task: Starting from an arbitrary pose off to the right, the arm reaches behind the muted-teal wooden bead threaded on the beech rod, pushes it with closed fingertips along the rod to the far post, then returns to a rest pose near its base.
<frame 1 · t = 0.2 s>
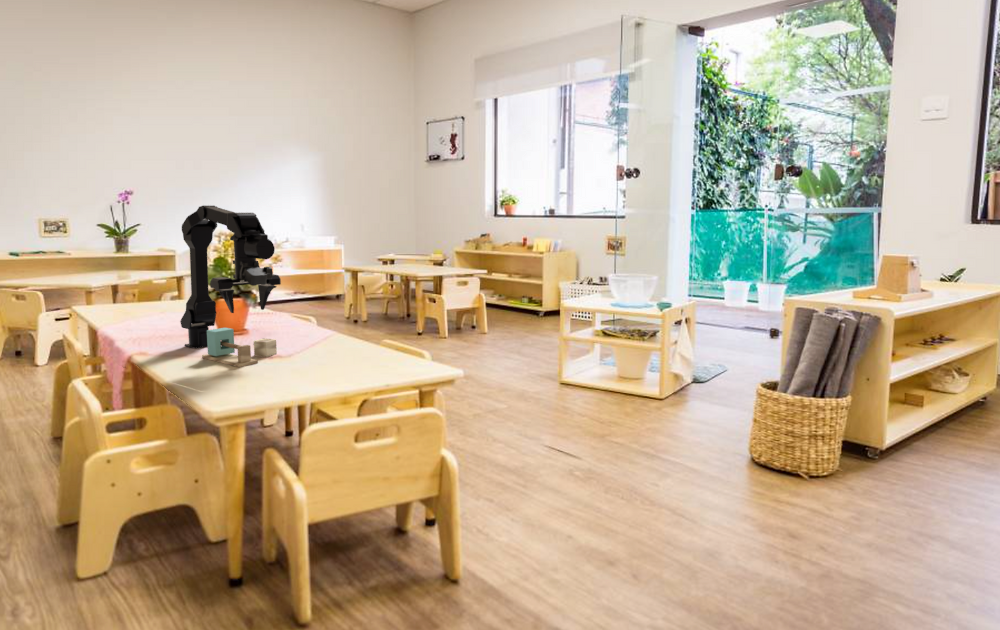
hand: (247, 311, 200), 14 cm above the table, fingers open, 9 cm apart
bead: (220, 341, 202), point 5 cm above the table, slide at -4.0 cm
maple cube: (265, 355, 208), on the table
rail: (229, 360, 200), on the table
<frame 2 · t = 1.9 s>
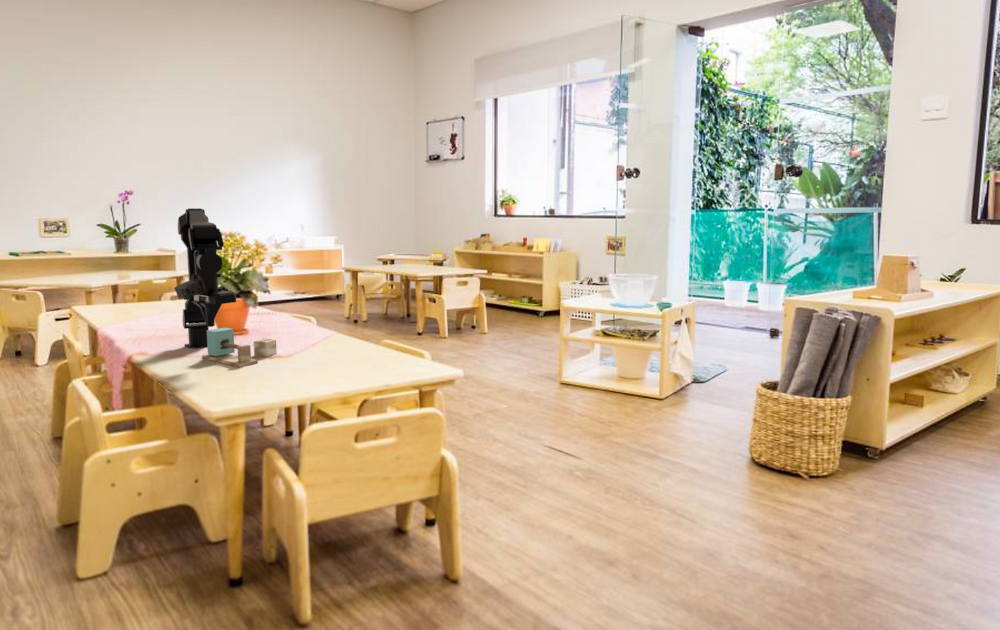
hand: (209, 325, 195), 11 cm above the table, fingers closed
nothing on the table moved.
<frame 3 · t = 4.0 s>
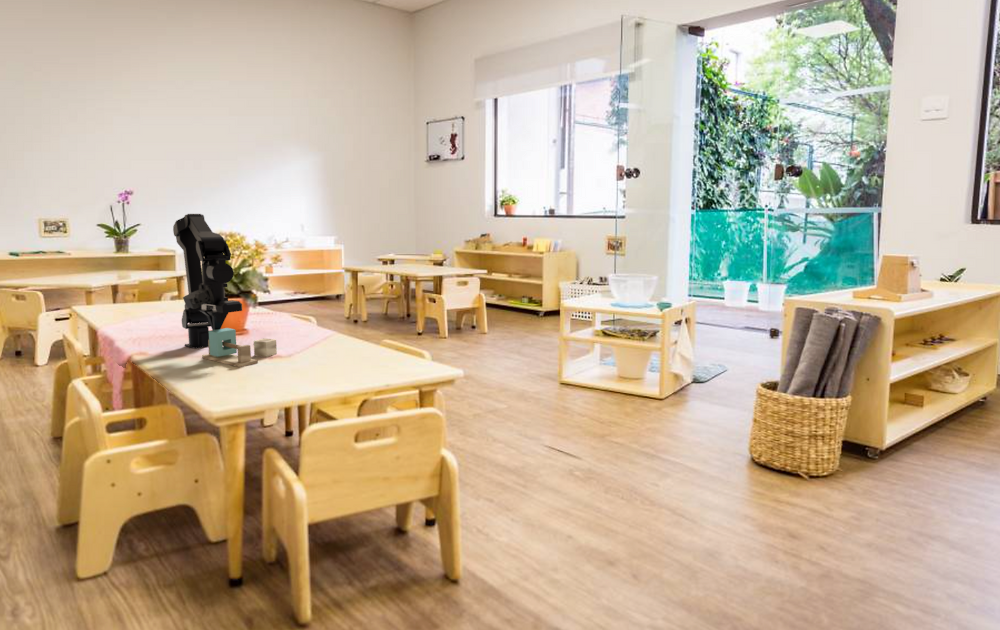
hand: (216, 333, 202), 7 cm above the table, fingers closed
bead: (222, 342, 201), point 5 cm above the table, slide at -3.0 cm, touching gripper
everything else where it was.
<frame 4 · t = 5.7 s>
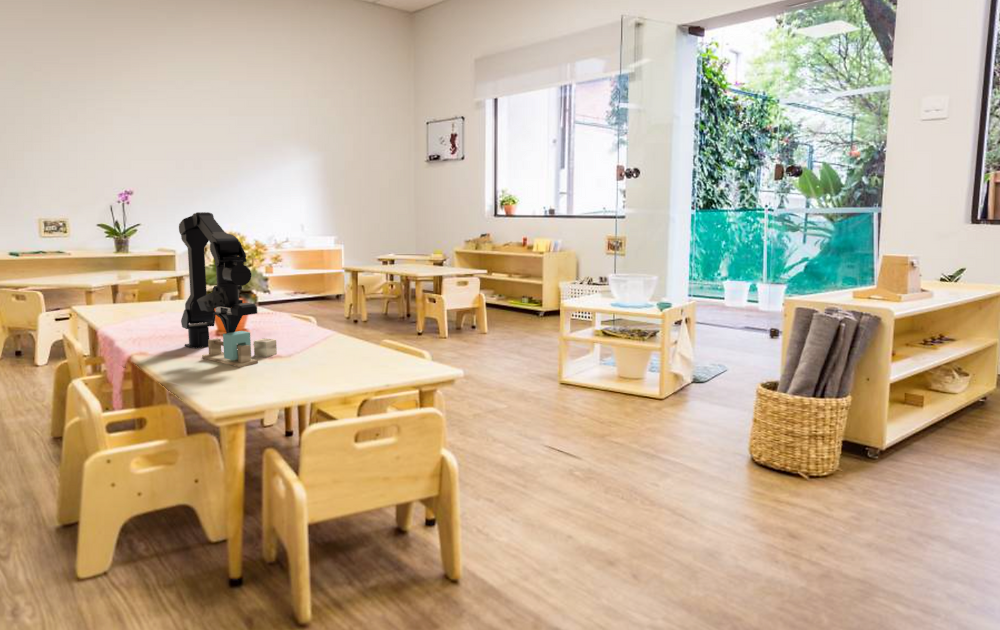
hand: (230, 336, 198), 7 cm above the table, fingers closed
bead: (237, 345, 197), point 5 cm above the table, slide at 4.0 cm, touching gripper
everything else where it was.
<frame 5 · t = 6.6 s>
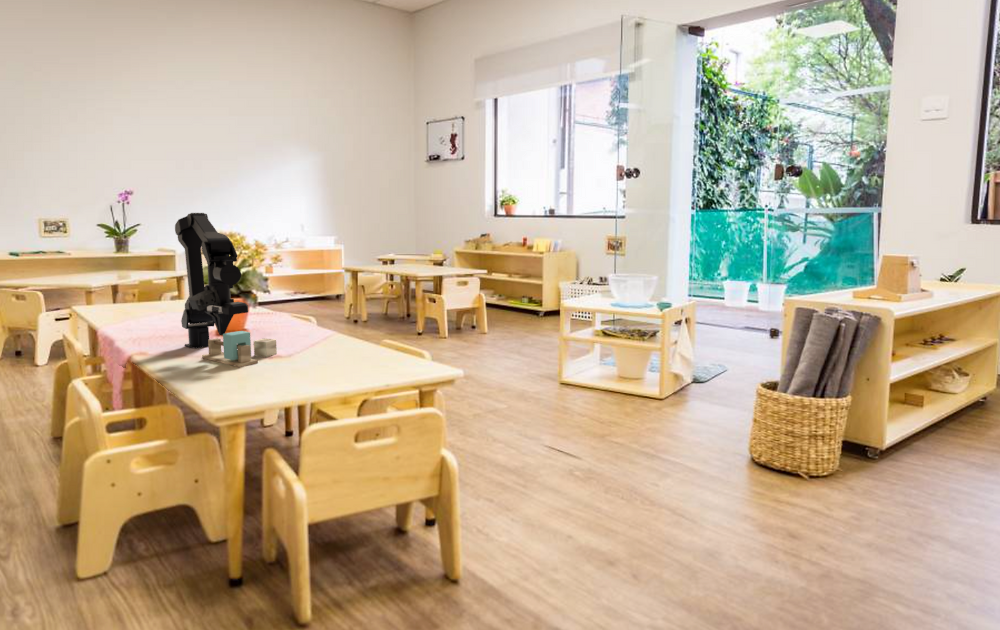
hand: (221, 335, 201), 7 cm above the table, fingers closed
bead: (237, 345, 197), point 5 cm above the table, slide at 4.0 cm
everything else where it was.
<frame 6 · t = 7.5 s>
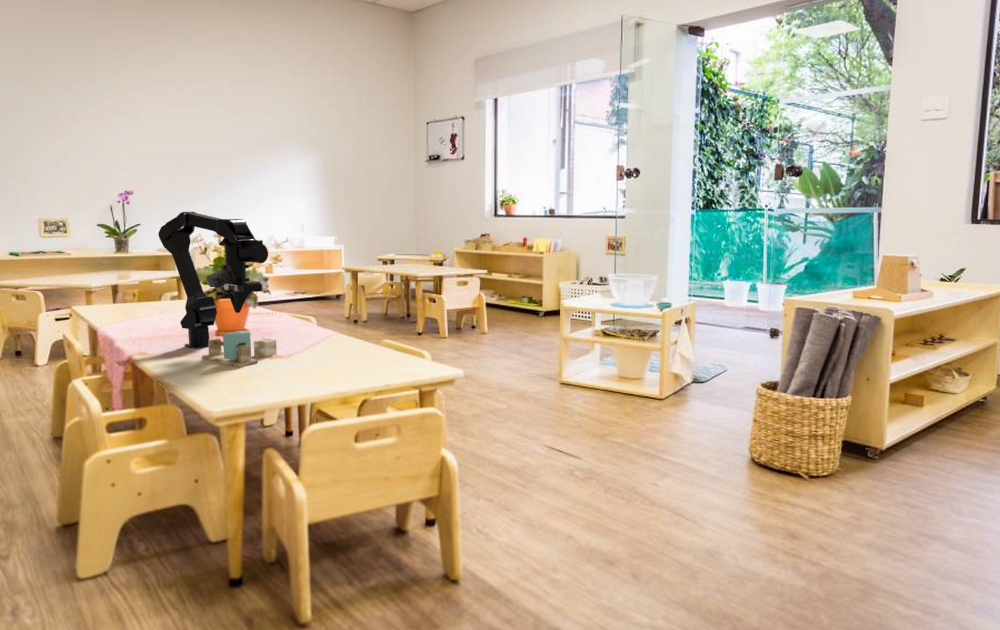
hand: (237, 312, 211), 12 cm above the table, fingers closed
nothing on the table moved.
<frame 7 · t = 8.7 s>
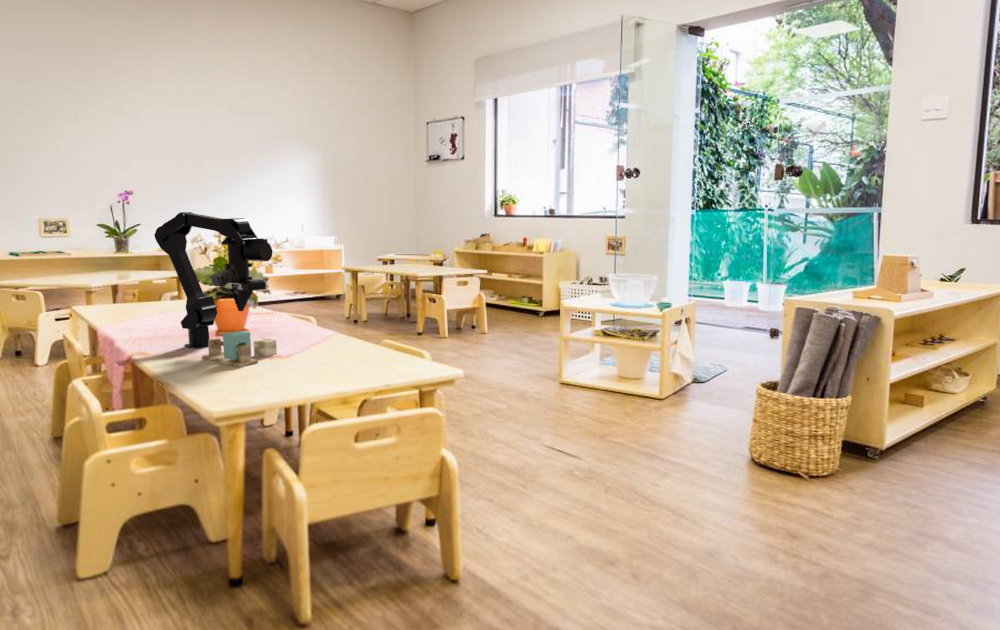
hand: (240, 311, 213), 12 cm above the table, fingers closed
nothing on the table moved.
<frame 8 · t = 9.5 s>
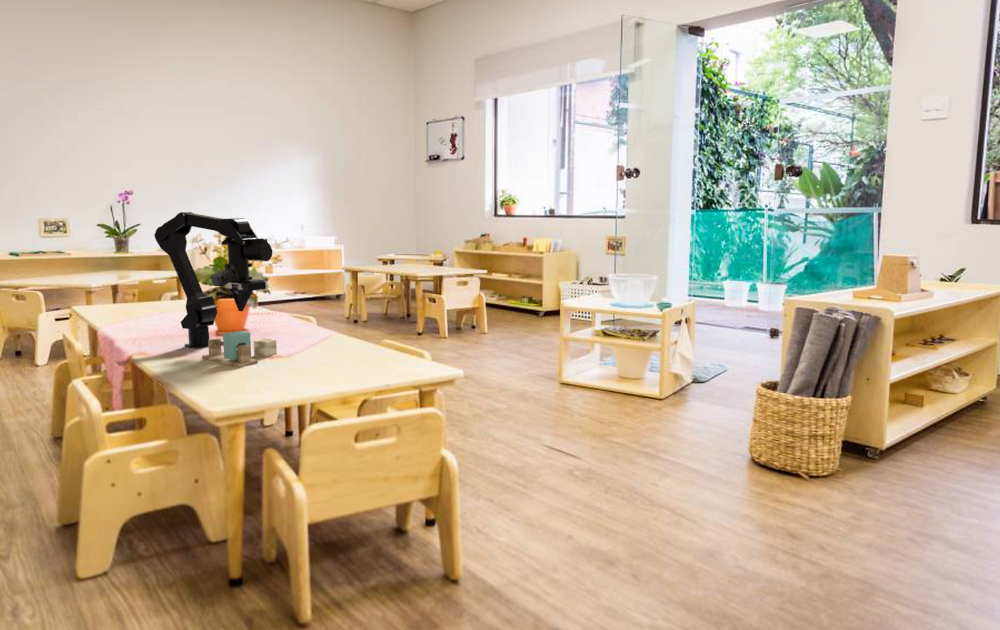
hand: (240, 311, 213), 12 cm above the table, fingers closed
nothing on the table moved.
at the end: bead slide at 4.0 cm; maple cube moved 0.1 cm from its start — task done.
